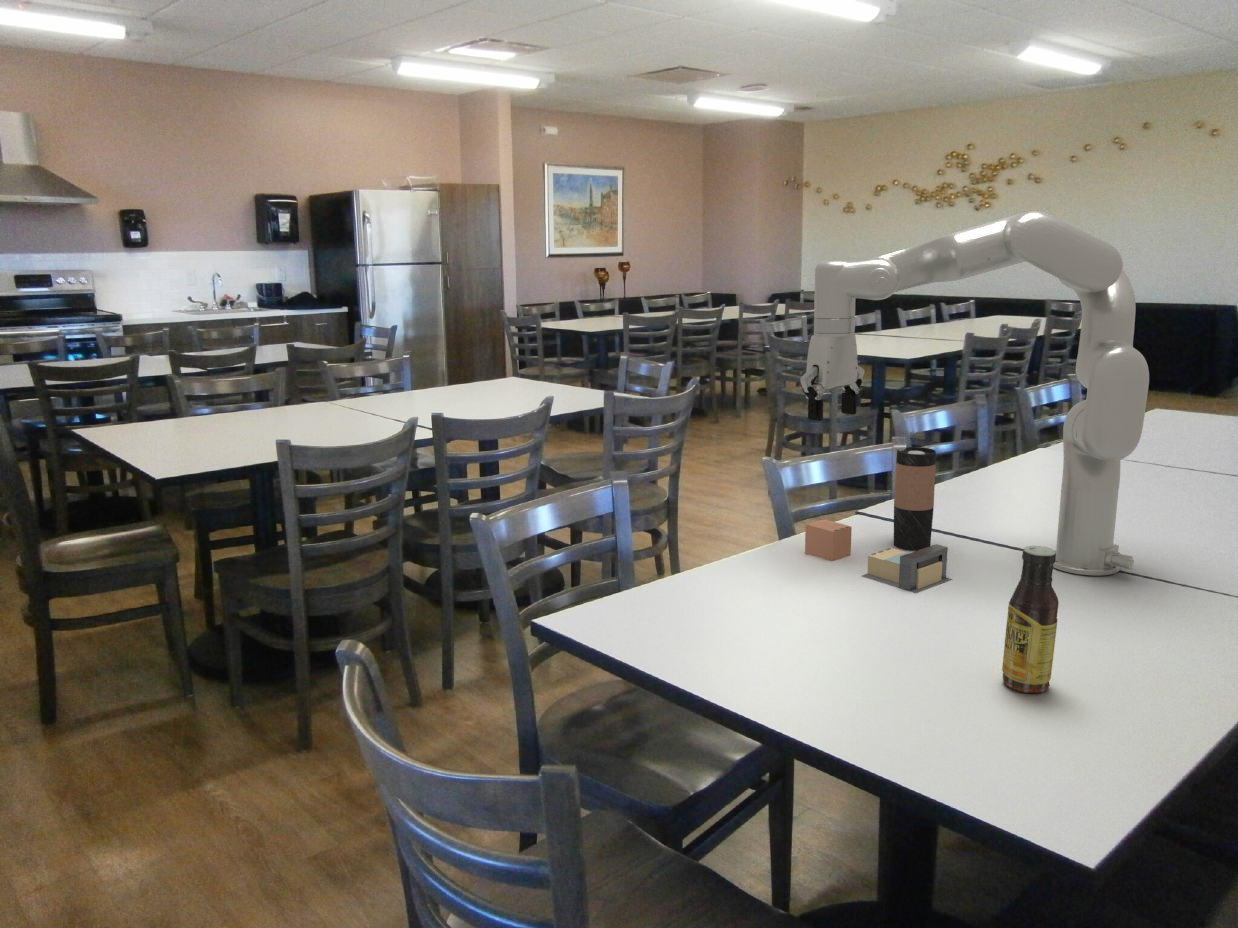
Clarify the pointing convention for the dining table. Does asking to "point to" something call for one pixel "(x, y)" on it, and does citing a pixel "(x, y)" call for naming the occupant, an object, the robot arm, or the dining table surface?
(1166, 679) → the dining table surface
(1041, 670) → the sauce bottle
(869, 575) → the mat
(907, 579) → the grey rectangular collar
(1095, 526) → the robot arm
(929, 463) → the travel mug
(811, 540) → the stub
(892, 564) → the tan and teal block
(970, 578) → the dining table surface
